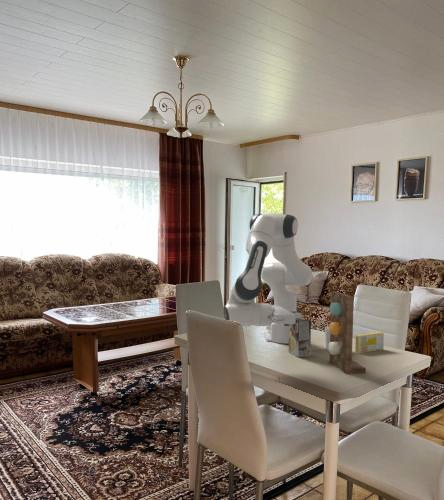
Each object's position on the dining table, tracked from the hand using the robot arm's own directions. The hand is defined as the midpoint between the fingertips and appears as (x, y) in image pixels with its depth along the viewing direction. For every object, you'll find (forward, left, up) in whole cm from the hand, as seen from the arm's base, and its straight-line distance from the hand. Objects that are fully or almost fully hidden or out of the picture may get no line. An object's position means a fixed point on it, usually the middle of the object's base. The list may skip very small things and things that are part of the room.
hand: (298, 314), depth 171 cm
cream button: (0, +16, -17) cm, 23 cm away
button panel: (0, +21, -22) cm, 30 cm away
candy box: (-21, +43, -22) cm, 53 cm away
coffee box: (-20, +8, -22) cm, 31 cm away
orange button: (0, +16, -9) cm, 18 cm away
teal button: (0, +16, -1) cm, 16 cm away
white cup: (-26, +27, -22) cm, 44 cm away
